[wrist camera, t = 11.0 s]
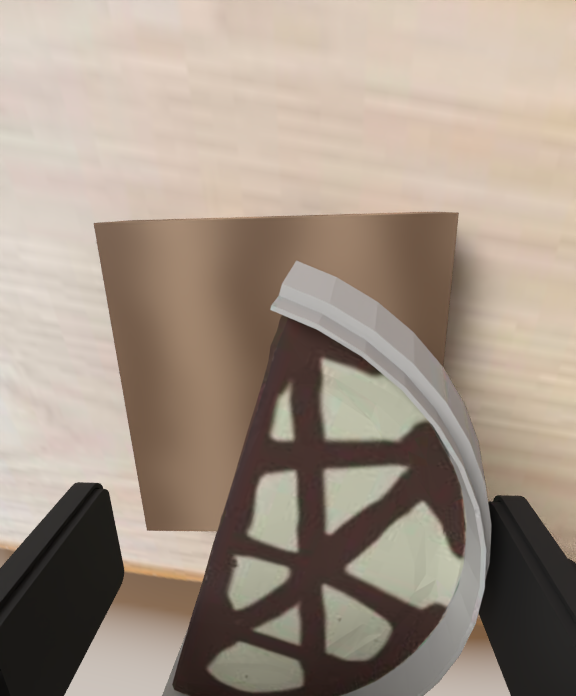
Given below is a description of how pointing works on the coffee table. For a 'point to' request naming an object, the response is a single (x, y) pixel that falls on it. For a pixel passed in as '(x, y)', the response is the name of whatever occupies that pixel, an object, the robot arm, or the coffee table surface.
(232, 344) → the walnut block
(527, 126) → the coffee table surface
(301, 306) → the food container
